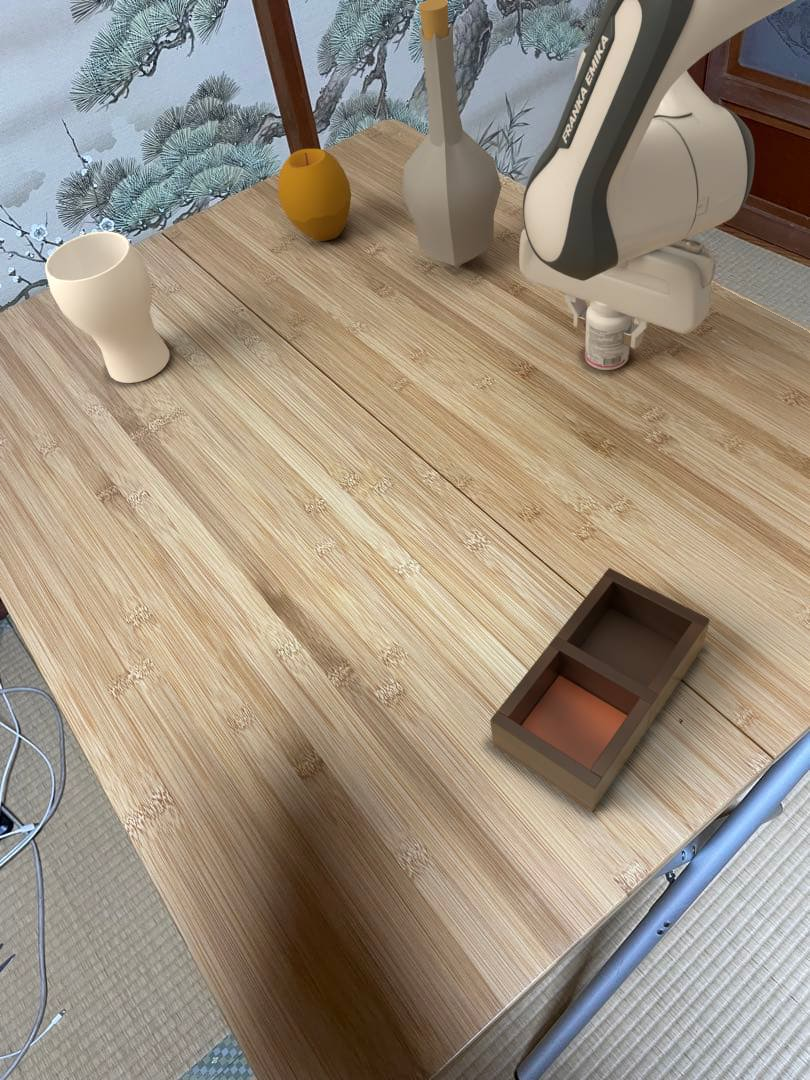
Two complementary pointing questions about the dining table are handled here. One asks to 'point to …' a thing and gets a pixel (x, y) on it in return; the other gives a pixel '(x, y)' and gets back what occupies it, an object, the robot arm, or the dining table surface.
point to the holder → (598, 686)
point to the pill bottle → (606, 337)
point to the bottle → (448, 160)
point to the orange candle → (315, 193)
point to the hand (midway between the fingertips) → (607, 334)
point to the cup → (109, 302)
